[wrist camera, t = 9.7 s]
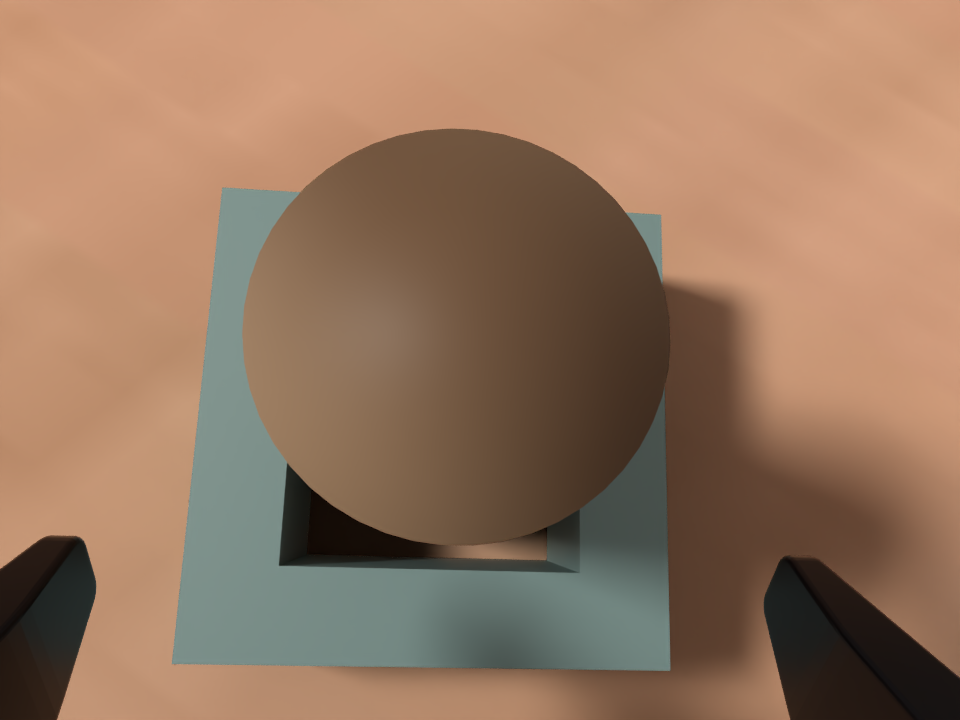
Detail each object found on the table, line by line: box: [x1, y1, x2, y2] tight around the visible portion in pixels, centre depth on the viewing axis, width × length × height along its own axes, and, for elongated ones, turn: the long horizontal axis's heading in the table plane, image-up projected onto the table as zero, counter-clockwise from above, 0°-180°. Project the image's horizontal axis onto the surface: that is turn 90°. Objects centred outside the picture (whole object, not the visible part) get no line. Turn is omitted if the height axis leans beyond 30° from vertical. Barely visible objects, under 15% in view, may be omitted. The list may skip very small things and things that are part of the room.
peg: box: [242, 129, 670, 545], centre depth 14 cm, size 4×4×12 cm
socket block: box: [172, 188, 670, 671], centre depth 18 cm, size 10×10×4 cm
